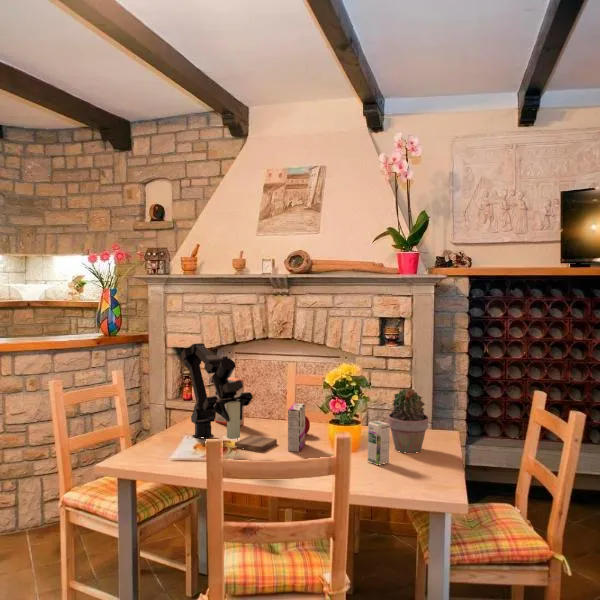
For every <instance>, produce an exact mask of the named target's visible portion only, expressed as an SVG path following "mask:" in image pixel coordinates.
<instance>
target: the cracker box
mask: <svg viewBox="0 0 600 600" xmlns="http://www.w3.org/2000/svg"><path fill="white" fill-rule="evenodd" d="M237 380H241V381H242V384H243V388H241V389H239V391H237V392H236V393H237V394H236V395H235V397H240V395H241V393H245V380H244V379H242V378H238V377H231V376H230V377H229V378H228V381H229V383H231V382H235V381H237ZM214 389H215V390H214V391H215V393H214V396H217V398H219V397H218V395H216V388H215V387H214ZM225 408H226V411H227V404H225ZM214 422H215V423H218V424H223V425H226V426H227V421H226V420H225V419H224V418H223V417H222V416H221V415H219V414H218V413H217V412H216V415H215V421H214ZM244 425H245V406H243V407H242V420H240V427H241V426H244Z"/></svg>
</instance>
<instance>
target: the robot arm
mask: <svg viewBox="0 0 600 600" xmlns="http://www.w3.org/2000/svg"><path fill="white" fill-rule="evenodd" d="M180 358H181V360H182V363H183V366H184V367H185V368H186V369H187V370H188V372H189V376H190V381H191V384H192V388H193V393H194V398H195V402H194V403H195V404H194V406H193V412H192V413H191V416H190V421H191V423H193V424H194V434H192V436H194V437H193V438H196V437H204V438H205V439H207V438H206V437H208V438H210V437H214V436H215V435H214V434H212V422H213V423H214V422H215V415H216V412H217V413H218V414H219V415H221V416H222V417H223V418H224V419H225V420H226V421H227V422H229V421H230V419H229V416H228V413H227V411H226V408H225V404H227V402H230V401H238V402H240V420H242V407H243V406H244V407H247V406H249V405H250V403H251V401H252V400H253V399H254V396H253V394H252V392H250V391H248V392H245V391H244V393H241V395H240V397H235V395H236V394H237V393H236V392H237V391H239V389H241V388H243V384H242V381H241V380H237V381H235V382H231V383H229V381H228V378H229V377H231V376H232V374H233V372H234V370H235V368H236V363H235V361H233V360H232V359H231V358H229V357H228V355H227V356H222V357H220V356H217V355H214V354H213V353H212V351H210V350H209V349H208V348H207V347H206V345H205V343H203V342H200V343H193V344H191V345H190V346H189V347H186V348H184V349H183V351H182V352H181V354H180ZM202 363H203V364H204V370H205V371H206V373H207V374H213V375H212V377H211V380H210V383H211V384H213V385H214V389H215V388H216V395H218V397H219V398H217V396H215V395H214V396H212V395H211V396H208V394H207V391H206V386H205V382H204V377H203V374H202V369H201V364H202ZM192 436H191V437H192Z"/></svg>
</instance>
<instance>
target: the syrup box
mask: <svg viewBox="0 0 600 600" xmlns="http://www.w3.org/2000/svg"><path fill="white" fill-rule="evenodd" d="M367 427H368V429H367V462H368V461H370V462H372V463H375V464H378V465H379V464H383V463H386V462H389V463H390V433H391V429H390V424H388V423H387V422H384V421H381V420H380V421H379V420H375V421H370V422H368V425H367ZM372 463H371V464H372Z"/></svg>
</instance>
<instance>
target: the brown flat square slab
mask: <svg viewBox="0 0 600 600" xmlns="http://www.w3.org/2000/svg"><path fill="white" fill-rule="evenodd" d="M277 442H278V440H277V438H272V437H266V436H259V435H253V434H251V435H250V434H249V436H246V437H244V438H242V439H240V440H237V441H236V442H234V447H235V446H237V447H239V448H238V449H240V448H244V449H243V450H245V449H250V450H249V451H251V450H255V451H254V452H257V451H260V452H259V453H263V452H264V450H265V451H266V449H267V450H268V449H270V448H272V447H274V446H276V445H278V443H277ZM275 444H276V445H275ZM262 451H263V452H262Z"/></svg>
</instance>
